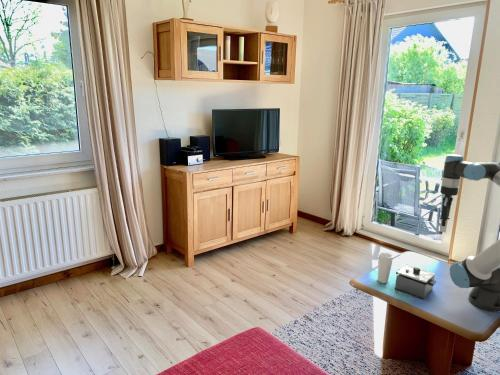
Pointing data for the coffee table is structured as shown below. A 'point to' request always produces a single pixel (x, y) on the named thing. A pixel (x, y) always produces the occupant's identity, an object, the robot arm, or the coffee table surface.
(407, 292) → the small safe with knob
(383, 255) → the white hollow cylinder
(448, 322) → the coffee table surface
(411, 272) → the lid
